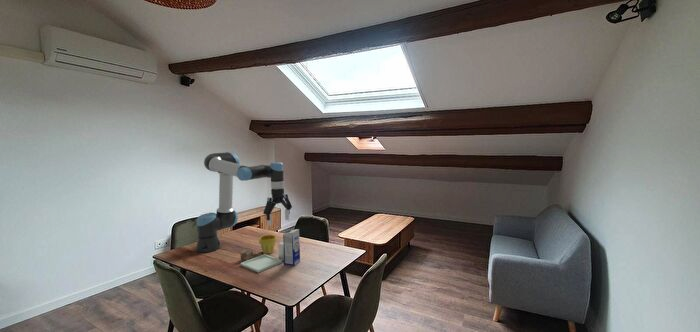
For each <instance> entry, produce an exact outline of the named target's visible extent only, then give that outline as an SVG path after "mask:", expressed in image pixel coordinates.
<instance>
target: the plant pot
mask: <svg viewBox="0 0 700 332" xmlns="http://www.w3.org/2000/svg"><path fill="white" fill-rule="evenodd" d="M258 240H259V244H260V247H261V250H262V253H263V254H266V255H269V254H272V253H273V252H274V250H275V246H276V245H275V244H276V242H277V237H276V235H274V234H265V235H262V236H260V237H259V238H258Z"/></svg>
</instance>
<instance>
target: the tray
mask: <svg viewBox="0 0 700 332" xmlns="http://www.w3.org/2000/svg"><path fill="white" fill-rule="evenodd" d="M282 263H283V260H281V259H279V257H274V256H271V255H269V254H264V253H263V254H260V255H257V256H255V257H253V259H250V260H247V261H241V262H240V266H241V267H242V268H246V269H248V270H250V271H253V272H255V273H258V274H259V273H261V272H264V271H267V270H268V269H271V268H273V267H275V266H277V265H279V264H282Z"/></svg>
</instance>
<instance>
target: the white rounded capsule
mask: <svg viewBox="0 0 700 332" xmlns="http://www.w3.org/2000/svg"><path fill="white" fill-rule="evenodd" d="M277 248H278V259H281V260H282V261H284V248H283V241H280V242H279V243H278V247H277Z"/></svg>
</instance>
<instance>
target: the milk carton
mask: <svg viewBox="0 0 700 332" xmlns="http://www.w3.org/2000/svg"><path fill="white" fill-rule="evenodd" d="M282 242H283V248H284V260H283V265H285V266H289V267H290V266H292V267H295V266H296V265H298V264H299V263H300V262H301V252H300V251H301V250H300V246H301V245H300V244H301V243H300V228H298V229H297V228H296V229H287V230H285V233H283V234H282Z"/></svg>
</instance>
